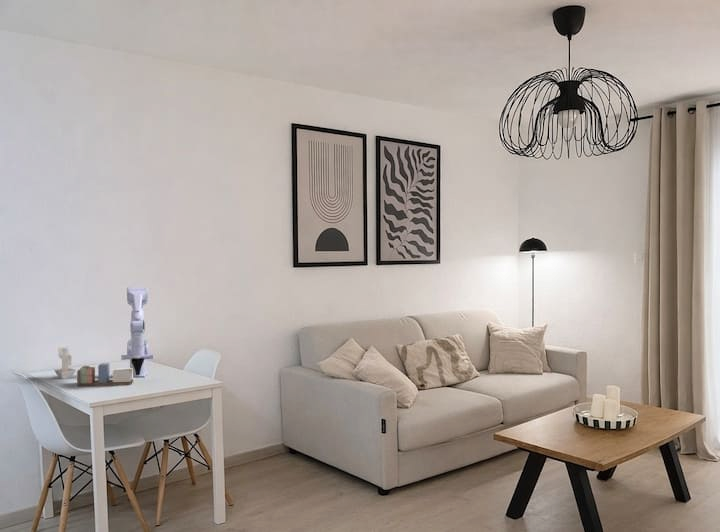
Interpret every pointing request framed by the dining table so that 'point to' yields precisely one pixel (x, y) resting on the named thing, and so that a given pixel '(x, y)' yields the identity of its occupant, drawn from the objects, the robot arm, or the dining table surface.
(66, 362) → the figurine
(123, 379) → the bookend
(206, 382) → the dining table surface
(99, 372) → the tall grey-blue block
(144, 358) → the robot arm
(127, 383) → the rack
